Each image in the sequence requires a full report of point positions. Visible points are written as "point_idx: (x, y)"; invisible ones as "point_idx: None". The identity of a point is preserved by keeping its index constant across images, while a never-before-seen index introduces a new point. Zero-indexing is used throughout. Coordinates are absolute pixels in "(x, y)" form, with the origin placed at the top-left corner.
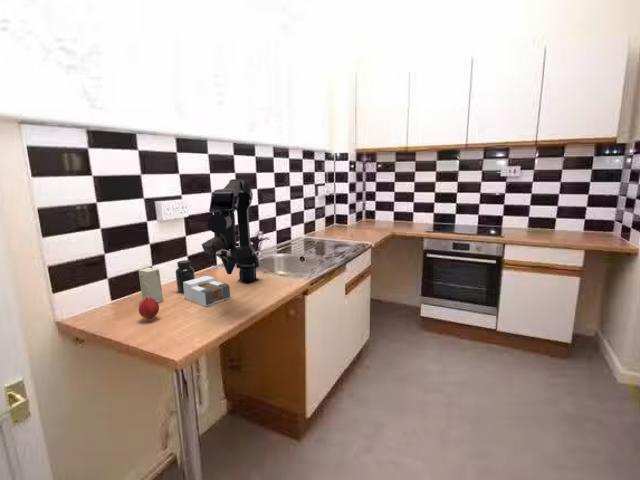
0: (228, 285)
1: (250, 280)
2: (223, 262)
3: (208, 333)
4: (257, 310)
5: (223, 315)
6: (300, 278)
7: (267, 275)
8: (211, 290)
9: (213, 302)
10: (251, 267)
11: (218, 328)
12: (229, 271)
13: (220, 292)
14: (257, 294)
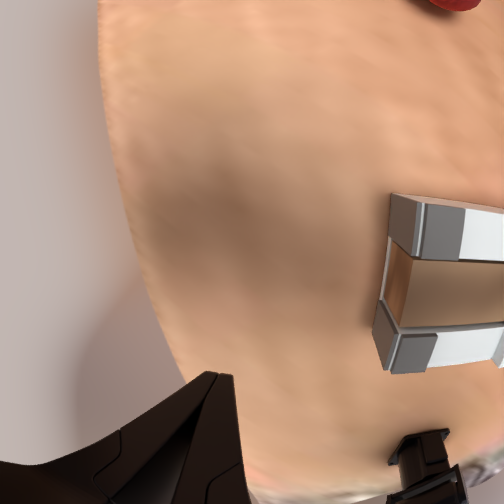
0: (389, 368)
1: (403, 450)
2: (214, 493)
3: (136, 54)
4: (159, 296)
5: (223, 173)
6: (280, 496)
7: (385, 481)
8: (430, 266)
9: (390, 239)
10: (405, 490)
11: (137, 93)
12: (181, 393)
13: (396, 304)
14: (297, 405)
